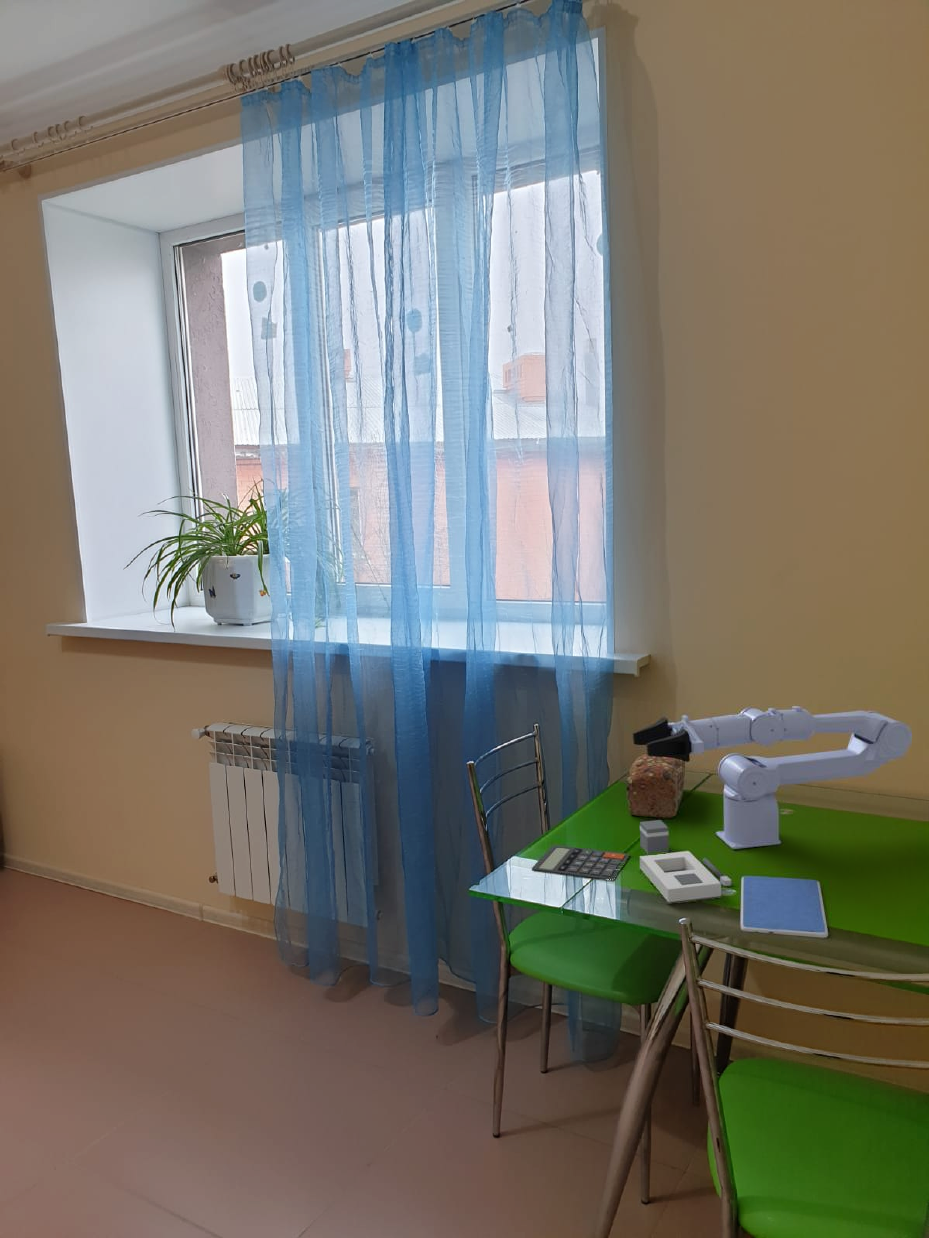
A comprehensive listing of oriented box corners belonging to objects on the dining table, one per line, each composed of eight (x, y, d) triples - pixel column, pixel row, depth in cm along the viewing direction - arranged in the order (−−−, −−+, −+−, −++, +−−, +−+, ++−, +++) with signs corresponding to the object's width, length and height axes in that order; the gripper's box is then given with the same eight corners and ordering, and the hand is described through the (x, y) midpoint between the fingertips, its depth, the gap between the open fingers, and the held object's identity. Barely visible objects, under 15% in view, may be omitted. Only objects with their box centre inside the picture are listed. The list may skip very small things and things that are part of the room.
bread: (677, 820, 192) (676, 772, 190) (624, 817, 195) (623, 769, 194) (687, 790, 209) (686, 746, 208) (638, 787, 213) (636, 744, 211)
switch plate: (688, 864, 170) (688, 850, 169) (721, 898, 156) (721, 882, 156) (640, 870, 169) (639, 855, 168) (668, 904, 155) (668, 888, 155)
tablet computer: (828, 941, 142) (828, 933, 141) (740, 934, 145) (740, 926, 145) (819, 886, 160) (819, 879, 160) (741, 881, 163) (740, 874, 163)
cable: (707, 861, 171) (707, 856, 171) (731, 885, 161) (731, 880, 161) (700, 862, 171) (700, 857, 171) (724, 885, 161) (724, 880, 160)
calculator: (612, 878, 165) (531, 867, 171) (612, 883, 165) (531, 872, 171) (630, 852, 175) (552, 843, 182) (630, 857, 175) (553, 848, 182)
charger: (661, 845, 180) (660, 819, 179) (669, 853, 176) (668, 827, 175) (640, 847, 179) (639, 821, 178) (647, 855, 175) (646, 829, 174)
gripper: (694, 703, 182) (626, 713, 180) (726, 722, 168) (652, 733, 166) (697, 739, 183) (629, 749, 182) (728, 760, 169) (655, 771, 167)
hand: (640, 744), depth 174 cm, fingers open, 7 cm apart
